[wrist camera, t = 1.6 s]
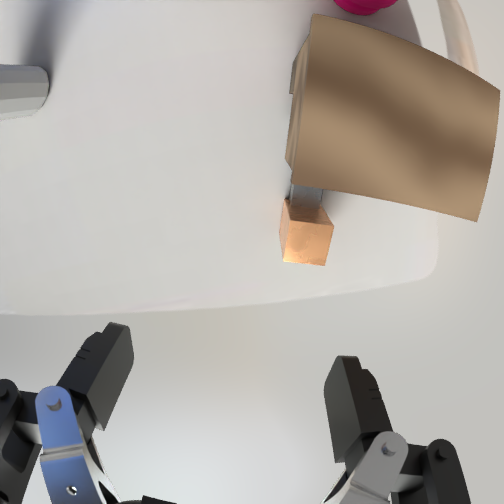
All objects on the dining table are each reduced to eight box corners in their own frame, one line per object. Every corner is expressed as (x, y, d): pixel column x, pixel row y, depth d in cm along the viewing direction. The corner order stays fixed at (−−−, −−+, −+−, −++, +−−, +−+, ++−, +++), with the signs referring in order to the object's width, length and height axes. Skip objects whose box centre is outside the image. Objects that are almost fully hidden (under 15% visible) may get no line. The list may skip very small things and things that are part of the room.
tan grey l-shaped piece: (296, 110, 27) (306, 107, 21) (334, 117, 27) (354, 117, 21) (279, 232, 33) (283, 261, 27) (313, 236, 33) (324, 265, 27)
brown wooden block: (290, 60, 24) (313, 13, 11) (415, 92, 25) (500, 90, 12) (278, 156, 29) (291, 186, 16) (401, 179, 29) (476, 224, 16)
